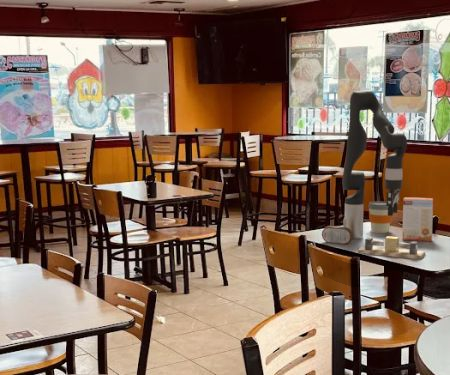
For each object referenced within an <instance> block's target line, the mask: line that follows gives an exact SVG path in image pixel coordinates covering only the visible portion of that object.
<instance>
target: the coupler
mask: <svg viewBox="0 0 450 375" xmlns="http://www.w3.org/2000/svg"><path fill="white" fill-rule="evenodd" d="M399 243H400V237H398V236H389V235H388V236H387V235H386V237H384V248H385V251H391V252H397V251H398V250H399V249H400V247H399Z"/></svg>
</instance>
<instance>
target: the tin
mask: <svg viewBox="0 0 450 375" xmlns="http://www.w3.org/2000/svg"><path fill="white" fill-rule="evenodd" d="M321 237H322V239H323V240H324V242H325V243H327V244H335V245H348V244H350V242H352V240H354V239H353V233H352V231H351V230H350V229H349V228H347V227H343V226H338V225H327V226H325V227H324V228H323V229H322V232H321Z"/></svg>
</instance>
